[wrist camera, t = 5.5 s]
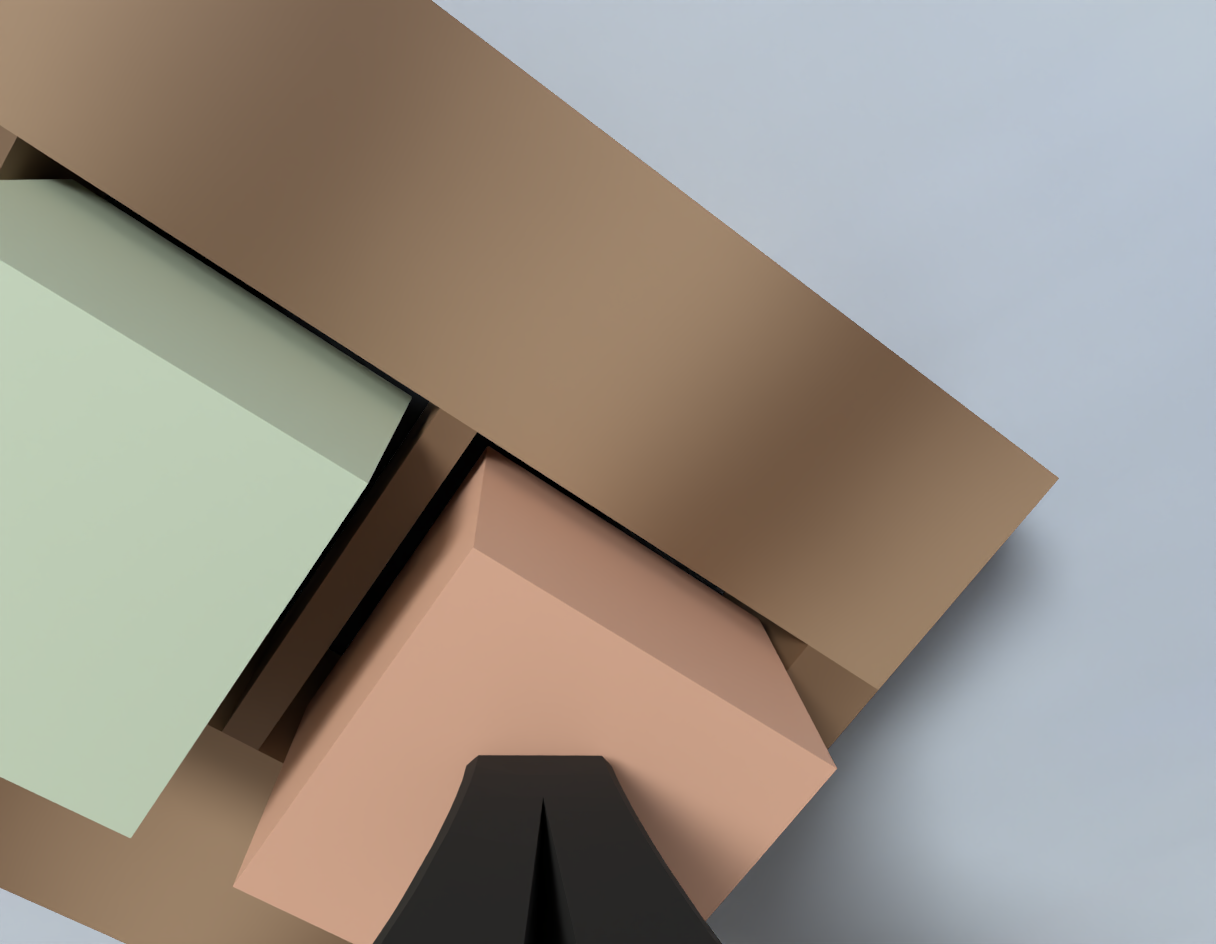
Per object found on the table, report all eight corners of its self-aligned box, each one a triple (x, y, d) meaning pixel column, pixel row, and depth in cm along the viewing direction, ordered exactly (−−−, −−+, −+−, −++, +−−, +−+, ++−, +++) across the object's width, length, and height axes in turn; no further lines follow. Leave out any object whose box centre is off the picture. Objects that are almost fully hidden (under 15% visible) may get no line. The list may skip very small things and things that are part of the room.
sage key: (412, 396, 12) (368, 483, 8) (229, 671, 12) (126, 845, 9) (72, 179, 11) (-130, 182, 7) (-101, 496, 11) (-347, 624, 8)
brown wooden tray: (954, 417, 14) (1059, 478, 12) (516, 956, 17) (515, 1116, 14) (-293, -524, 10) (-616, -796, 7) (-644, 385, 13) (-991, 448, 10)
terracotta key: (759, 619, 13) (836, 769, 10) (571, 853, 14) (584, 1060, 11) (487, 444, 12) (473, 546, 9) (303, 710, 13) (227, 894, 10)
